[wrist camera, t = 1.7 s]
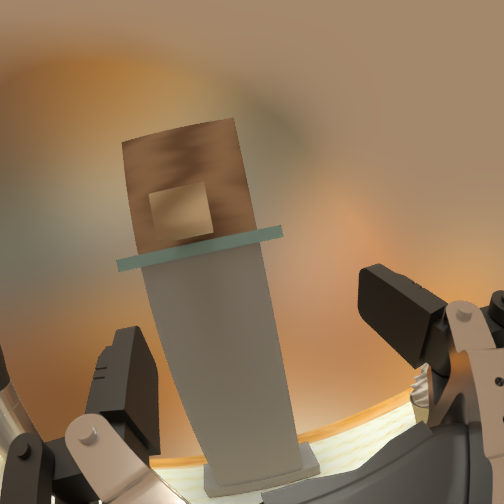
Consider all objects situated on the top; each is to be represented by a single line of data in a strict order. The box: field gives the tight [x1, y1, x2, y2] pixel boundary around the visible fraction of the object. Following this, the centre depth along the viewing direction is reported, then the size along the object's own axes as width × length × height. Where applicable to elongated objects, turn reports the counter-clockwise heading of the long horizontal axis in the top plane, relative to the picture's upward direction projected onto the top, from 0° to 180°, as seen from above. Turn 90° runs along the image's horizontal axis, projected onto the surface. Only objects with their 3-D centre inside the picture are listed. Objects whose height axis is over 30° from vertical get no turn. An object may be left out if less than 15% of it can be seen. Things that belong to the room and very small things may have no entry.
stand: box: [116, 225, 320, 498], centre depth 26 cm, size 14×5×30 cm, turn 98°
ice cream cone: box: [410, 363, 429, 424], centre depth 24 cm, size 5×5×15 cm
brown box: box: [122, 118, 257, 255], centre depth 20 cm, size 10×13×10 cm
